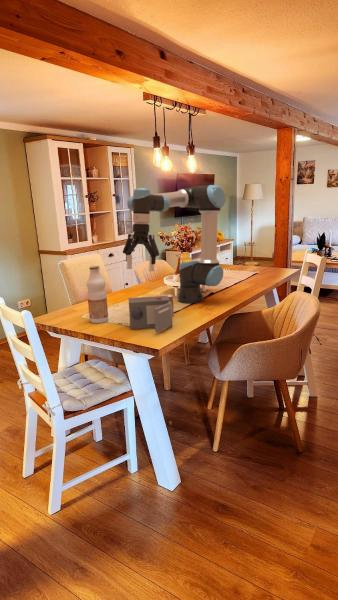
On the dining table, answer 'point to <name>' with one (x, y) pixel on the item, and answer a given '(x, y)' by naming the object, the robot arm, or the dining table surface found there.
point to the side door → (163, 317)
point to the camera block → (144, 311)
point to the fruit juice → (97, 296)
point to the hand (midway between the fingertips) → (140, 270)
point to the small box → (170, 300)
